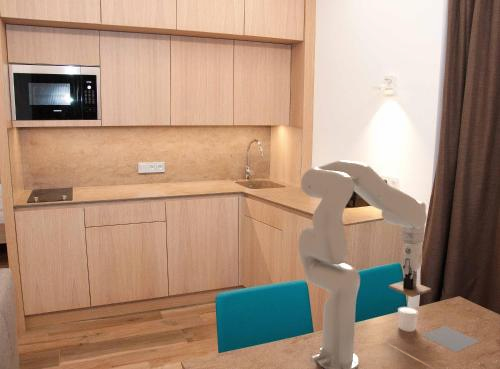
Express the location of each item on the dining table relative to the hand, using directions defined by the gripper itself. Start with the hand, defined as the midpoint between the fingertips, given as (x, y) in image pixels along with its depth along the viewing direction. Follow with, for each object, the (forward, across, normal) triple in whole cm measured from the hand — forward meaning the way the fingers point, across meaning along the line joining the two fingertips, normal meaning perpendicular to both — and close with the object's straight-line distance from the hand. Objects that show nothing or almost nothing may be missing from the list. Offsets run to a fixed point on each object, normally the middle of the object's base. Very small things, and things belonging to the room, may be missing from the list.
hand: (409, 286), depth 160 cm
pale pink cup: (+16, 0, 0) cm, 16 cm away
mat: (+16, 0, -14) cm, 21 cm away
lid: (+1, 0, 0) cm, 1 cm away
